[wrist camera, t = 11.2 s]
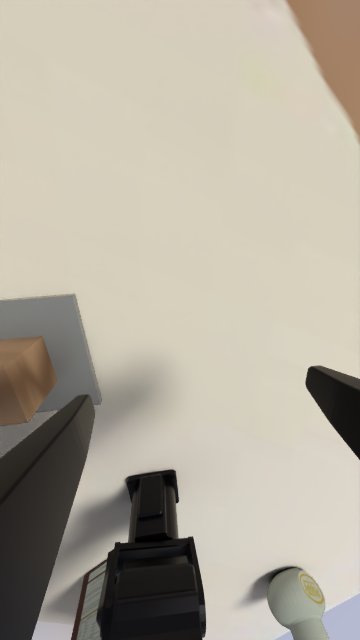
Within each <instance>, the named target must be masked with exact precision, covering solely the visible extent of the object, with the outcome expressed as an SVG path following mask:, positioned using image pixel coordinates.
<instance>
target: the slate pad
mask: <svg viewBox="0 0 360 640" xmlns="http://www.w3.org/2000/svg"><path fill="white" fill-rule="evenodd" d="M39 336H43V339H44V342H45V345H46V348H47V351H48V354H49V357H50V360H51V363H52V366H53V369H54V372H55V375H56V378H57V381H58V382H57V383H56V384H55V386H54V387H53V389H52V390H51V391H50V393H49V394H48V395H47V397H46V398H45V400H44V401H43V402H42V404H41V405H40V406H39V408H38V409H37V411H36V412H35V413H38V412H45V411H53V410H61V409H62V408H63V407H64V406H65V405H67V404H68V403H69V402H70V401H72V400H73V399H74V398H75V397H77V396H78V395H83V394H89V395H90V396H91V398H92V402H93V405H100V404H101V401H102V399H101V395H100V391H99V387H98V383H97V379H96V375H95V371H94V367H93V363H92V359H91V355H90V351H89V347H88V344H87V340H86V336H85V332H84V328H83V324H82V320H81V316H80V312H79V308H78V304H77V300H76V296H75V294H65V295H54V296H42V297H30V298H18V299H6V300H0V340H7V339H18V338H28V337H39Z"/></svg>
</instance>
